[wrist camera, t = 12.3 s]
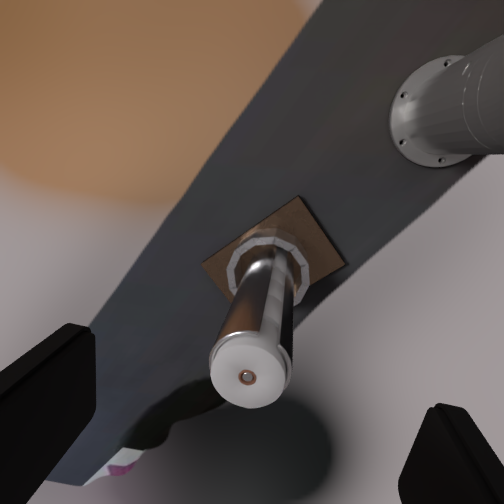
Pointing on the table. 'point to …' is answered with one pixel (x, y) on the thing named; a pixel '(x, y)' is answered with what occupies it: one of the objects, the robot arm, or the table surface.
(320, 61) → the table surface
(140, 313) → the table surface
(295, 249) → the duct collar
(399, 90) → the robot arm
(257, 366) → the silver long cylinder
